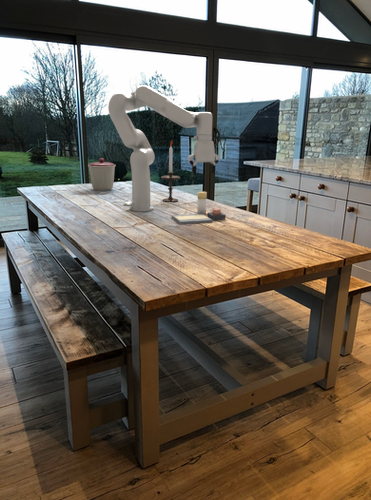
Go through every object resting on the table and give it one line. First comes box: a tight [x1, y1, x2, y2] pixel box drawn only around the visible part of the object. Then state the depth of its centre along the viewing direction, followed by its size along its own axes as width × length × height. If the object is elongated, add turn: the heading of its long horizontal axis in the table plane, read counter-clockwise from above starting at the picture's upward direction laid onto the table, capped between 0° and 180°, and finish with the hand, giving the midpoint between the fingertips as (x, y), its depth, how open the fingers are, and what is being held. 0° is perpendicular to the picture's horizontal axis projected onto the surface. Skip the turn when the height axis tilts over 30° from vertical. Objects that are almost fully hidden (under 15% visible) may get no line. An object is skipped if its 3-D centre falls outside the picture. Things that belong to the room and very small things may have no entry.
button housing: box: [206, 211, 227, 221], centre depth 202 cm, size 7×7×2 cm
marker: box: [196, 191, 208, 215], centre depth 211 cm, size 5×5×11 cm
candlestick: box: [160, 140, 181, 203], centre depth 238 cm, size 11×11×35 cm
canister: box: [87, 157, 117, 192], centre depth 273 cm, size 18×18×21 cm
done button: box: [211, 208, 222, 215], centre depth 201 cm, size 4×4×3 cm
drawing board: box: [171, 213, 213, 225], centre depth 198 cm, size 16×14×1 cm
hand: (203, 173), depth 206 cm, fingers open, 9 cm apart
